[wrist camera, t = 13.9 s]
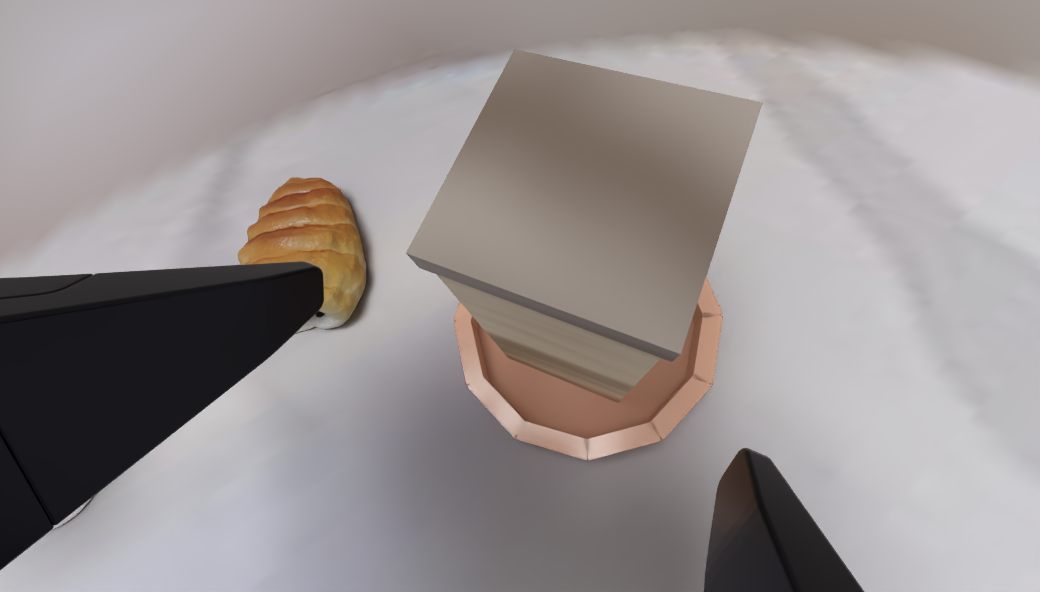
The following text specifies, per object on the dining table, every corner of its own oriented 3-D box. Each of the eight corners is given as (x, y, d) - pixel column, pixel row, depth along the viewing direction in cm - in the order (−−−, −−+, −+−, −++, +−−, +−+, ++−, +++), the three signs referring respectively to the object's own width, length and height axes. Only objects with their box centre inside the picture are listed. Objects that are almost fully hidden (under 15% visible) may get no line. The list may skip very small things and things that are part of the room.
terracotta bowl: (743, 416, 19) (766, 413, 17) (498, 482, 20) (487, 487, 18) (654, 203, 23) (662, 176, 21) (451, 262, 24) (437, 242, 22)
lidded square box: (620, 407, 19) (680, 354, 8) (504, 359, 21) (405, 253, 9) (660, 293, 21) (762, 102, 9) (549, 256, 22) (514, 49, 10)
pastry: (271, 202, 27) (224, 165, 24) (372, 182, 27) (340, 142, 23) (260, 344, 24) (204, 328, 21) (374, 325, 24) (338, 304, 20)
